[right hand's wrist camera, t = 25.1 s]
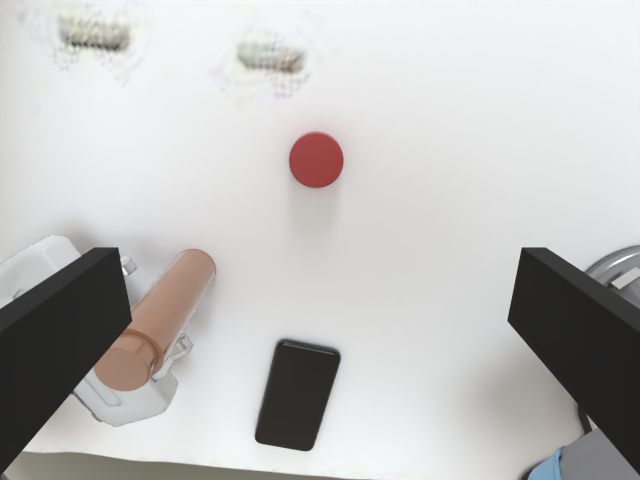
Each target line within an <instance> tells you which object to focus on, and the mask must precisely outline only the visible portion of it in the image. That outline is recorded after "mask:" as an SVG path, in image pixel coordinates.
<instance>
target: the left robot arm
mask: <svg viewBox="0 0 640 480" xmlns="http://www.w3.org/2000/svg"><path fill="white" fill-rule="evenodd" d="M79 257H81V255H80V253H79V252H78V251H77V249H76V248H75V247H74V245H73V244H72V243H71V241H70V240H69V239H68V238H67V237H63V236H58V235H50V236H48V237H46V238H44V239H42V240H40V241H38V242H36V243H34V244H32V245H31V246H29V247H27V248H25V249H23V250H22V251H20V252H18V253H17V254H15V255H13V256H12V257H11V258H9V259H8V260H6V261H5V262H3V263H2V264H1V265H0V309H1V308H2V307H4V306H5V305H7V304H8V303H10V302H11V301H13V300H14V299H16V298H18V297H19V296H21V295H22V294H24V293H25V292H27V291H28V290H30V289H31V288H33V287H34V286H36V285H38V284H39V283H41V282H42V281H44V280H45V279H47V278H48V277H50V276H51V275H53V274H55V273H56V272H58V271H59V270H61V269H62V268H64V267H65V266H67V265H68V264H70V263H71V262H73V261H75V260H76V259H78V258H79ZM120 260H121V265H122V270H123V275H124V277H126V276H128V275H130V274H131V273H132V272H134V270H135V269H137V268H138V267H137V266H136V264H135V263H134V262H133V260H132V259H131V257H130V256H129V255H126V256H124V257H122V258H120ZM192 347H193V344H192V342H191V341H190V340H189V338H188V337H187V335H186V334H185V333H184V334H181V335H180V337H179V338H178V340H177V342H176V343H175V345H174V347H173V349H172V350H171V352H170V354H169V356H168V357H167V359H166V360H165V362H164V364H163V366H162V367H161V369H160V370H159V371H158V372H157V373H156V374H154V375H153V376H151V377H150V379H149V381H148V382H147V383H146V384H145V385H144V386H142V387H140V388H138V389H136V390H133V391H117V390H114V389H111V388H109V387H107V386H106V385H104V384H103V383H102V382H101V381H100V380H99V379H98V377H97V376H96V374H95V371H94V367H93V368H92V369H91V370H90V371H89V373H88V374H87V375H86V376H85V377H84V378H83V380H82V381H81V382H80V383H79V384H78V385H77V387H76V388H75V389H74V390H73V391H72V393H71V394H70V395H69V396H71V395H74V396H75V397H76V398H77V399H78V400H79V401H80V402H81V403H82V404H83V405H84V406H85V407H86V408H87V409H89V410H90V412H91V413H92V415H93V417H94V418H95V419H96V420H98V421H99V422H102V421H103V422H105V423H107V424H110V425H112V426H114V427H119V426H122V425H124V424H127V423H132V422H136V421H140V420H144V419H147V418H150V417H153V416H156V415H159V414H161V413H163V412H165V411H166V409H167V408H168V407H169V405H170V403H171V402H172V400H173V398H174V395H175V393H176V390H177V387H178V381H177V380H176V378H175V377H174V376H173V374H172V373H171V372H170V370H169V368H170V367H171V365H172V364H173V362H174V361H175V360H176V359H178V358H180V357H183V356H185V355H187V354H188V353H189V352H190V351H191V349H192ZM69 396H68V397H69ZM0 480H9V479H8V478H7V477H6V476H5V474H4V473H2V475H1V476H0Z"/></svg>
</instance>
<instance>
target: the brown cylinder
mask: <svg viewBox="0 0 640 480" xmlns="http://www.w3.org/2000/svg"><path fill="white" fill-rule="evenodd" d="M215 273H216V268H215V264H214V262H213V260H212V259H211V257H210V256H209V255H207V254H206V253H204V252H202V251H200V250H194V249H192V250H186V251H184V252H182V253H180V254H179V255H178V256H177V257H176V259H175V260H174V261H173V262H172V263H171V264H170V265H169V266H168V268H167V269H166V270H165V271H164V272H163V273H162V274H161V275H160V276H159V278H158V279H157V280H156V281H155V282H154V283H153V284H152V285H151V286H150V288H149V289H148V290H147V291H146V292H145V293H144V294H143V295H142V296H141V298H140V299H139V300H138V301H137V302H136V303H135V304H134V305H133V307H132V308H131V309H130V310H131V315H132V320H133V321H132V322H131V323H130V325H129V326H128V327H127V328H126V329H125V330H124V332H123V333H122V334H121V335H120V336H119V337H118V339H117V340H116V341H115V342H114V343H113V344H112V346H111V347H110V348H109V349H108V350H107V352H106V353H105V354H104V355H103V356H102V357H101V359H100V360H99V361H98V362H97V363H96V364H95V366H94V371H95V374H96V376H97V377H98V379H99V380H100V381H101V382H102V383H103V384H104V385H106V386H107V387H109V388H111V389H114V390H117V391H133V390H136V389H138V388H140V387H142V386H144V385H145V384H146V383H147V382H148V381H149V379H150V377H151V376H153V375H154V374H156V373H157V372H158V371H159V370H160V369H161V367H162V366H163V364H164V362H165V360H166V359H167V357H168V355H169V354H170V352H171V350H172V349H173V347H174V345H175V343H176V342H177V340H178V338H179V337H180V335H181V333H182V331H183V330H184V328H185V326H186V325H187V323H188V321H189V319H190V318H191V316H192V314H193V313H194V311H195V309H196V308H197V306H198V304H199V302H200V301H201V299H202V297H203V296H204V294H205V292H206V290H207V289H208V287H209V285H210V284H211V282H212V280H213V279H214V276H215Z"/></svg>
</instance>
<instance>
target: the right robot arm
mask: <svg viewBox="0 0 640 480" xmlns="http://www.w3.org/2000/svg"><path fill="white" fill-rule="evenodd" d="M132 321H133V320H132V315H131V310H130V305H129V300H128V295H127V290H126V285H125V280H124V275H123V270H122V265H121V260H120V255H119V250H118V248H93V249H91V250H90V251H88V252H87V253H85V254H84V255H82V256H81V257H79V258H78V259H76V260H75V261H73V262H71V263H70V264H68V265H67V266H65V267H64V268H62V269H61V270H59V271H58V272H56V273H55V274H53V275H51V276H50V277H48V278H47V279H45V280H44V281H42V282H41V283H39V284H38V285H36V286H34V287H33V288H31V289H30V290H28V291H27V292H25V293H24V294H22V295H21V296H19V297H18V298H16V299H14V300H13V301H11V302H10V303H8V304H7V305H5V306H4V307H2V308H1V309H0V476H1V475H2V473H3V472H4V471H5V470H6V469H7V468H8V466H9V465H10V464H11V463H12V462H13V460H14V459H15V458H16V457H17V456H18V455H19V453H20V452H21V451H22V450H23V449H24V448H25V446H26V445H27V444H28V443H29V442H30V441H31V439H32V438H33V437H34V436H35V435H36V434H37V432H38V431H39V430H40V429H41V428H42V427H43V425H44V424H45V423H46V422H47V421H48V419H49V418H50V417H51V416H52V415H53V414H54V412H55V411H56V410H57V409H58V408H59V407H60V405H61V404H62V403H63V402H64V401H65V400H66V398H67V397H68V396H69V395H70V394H71V393H72V391H73V390H74V389H75V388H76V387H77V385H78V384H79V383H80V382H81V381H82V380H83V378H84V377H85V376H86V375H87V374H88V373H89V371H90V370H91V369H92V368H93V367H94V366H95V364H96V363H97V362H98V361H99V360H100V359H101V357H102V356H103V355H104V354H105V353H106V352H107V350H108V349H109V348H110V347H111V346H112V344H113V343H114V342H115V341H116V340H117V339H118V337H119V336H120V335H121V334H122V333H123V332H124V330H125V329H126V328H127V327H128V326H129V325H130V323H131V322H132ZM507 321H508V322H509V323H510V325H511V326H512V327H513V328H514V329H515V330H516V332H517V333H518V334H519V335H520V336H521V337H522V339H523V340H524V341H525V342H526V343H527V344H528V346H529V347H530V348H531V349H532V350H533V352H534V353H535V354H536V355H537V356H538V357H539V359H540V360H541V361H542V362H543V363H544V364H545V366H546V367H547V368H548V369H549V370H550V371H551V373H552V374H553V375H554V376H555V377H556V378H557V380H558V381H559V382H560V383H561V384H562V385H563V387H564V388H565V389H566V390H567V391H568V393H569V394H570V395H571V396H572V397H573V398H574V400H575V401H576V402H577V403H578V404H579V405H578V413H579V418H580V421H581V423H582V426H583V428H584V431H585V436H583V437H581V438H580V439H578V440H577V441H575V442H573V443H572V444H570V445H568V446H566V447H565V446H562V447H560V448H559V449H557V451H556V453H555V454H554V455H553V456H551V457H550V458H548V459H547V460H546V461H544V462H543V463H542V464H540V465H539V466H537V467H535V468H533V469H531V470H530V471H529V472H527V473H526V474H525V475H524V476H523V477H522V479H521V480H640V246H636V247H631V248H628V249H624V250H621V251H619V252H616V253H614V254H612V255H610V256H608V257H606V258H604V259H603V260H601V261H600V262H598V263H597V264H595V265H594V266H593V267H592V268H590V269H589V270H588V271H587V272H586V273H584V272H582V271H581V270H579V269H578V268H576V267H575V266H573V265H572V264H570V263H569V262H567V261H565V260H564V259H562V258H561V257H559V256H558V255H556V254H555V253H553V252H552V251H550V250H549V249H547V248H522V250H521V255H520V260H519V265H518V270H517V275H516V280H515V285H514V290H513V295H512V300H511V305H510V310H509V315H508V320H507ZM587 415H588V416H589V417H590V418H591V419H592V421H593V422H594V423H595V424H596V425H597V427H598V428H596V429H594V430H593V431H592V428H591V425H590V423H589V420H588V418H587Z"/></svg>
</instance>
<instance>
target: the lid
mask: <svg viewBox="0 0 640 480" xmlns="http://www.w3.org/2000/svg"><path fill="white" fill-rule="evenodd" d="M289 163H290V168H291V171H292V173H293V175H294V176H295V178H296V179H297V180H298V181H299V182H301V183H302V184H304V185H306V186H308V187H313V188H320V187H324V186H327V185H329V184H331V183H332V182H334V181H335V180H336V179H337V177H338V176H339V174H340V173H341V170H342V167H343V154H342V151H341V149H340V146H339V145H338V143H337V142H336V140H335V139H334V138H333V137H331V136H330V135H328V134H326V133H323V132H310V133H307V134H305V135H303V136H301V137H300V138H299V139H298V140H297V141H296V143H295V144H294V146H293V148H292V150H291V153H290V158H289Z"/></svg>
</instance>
